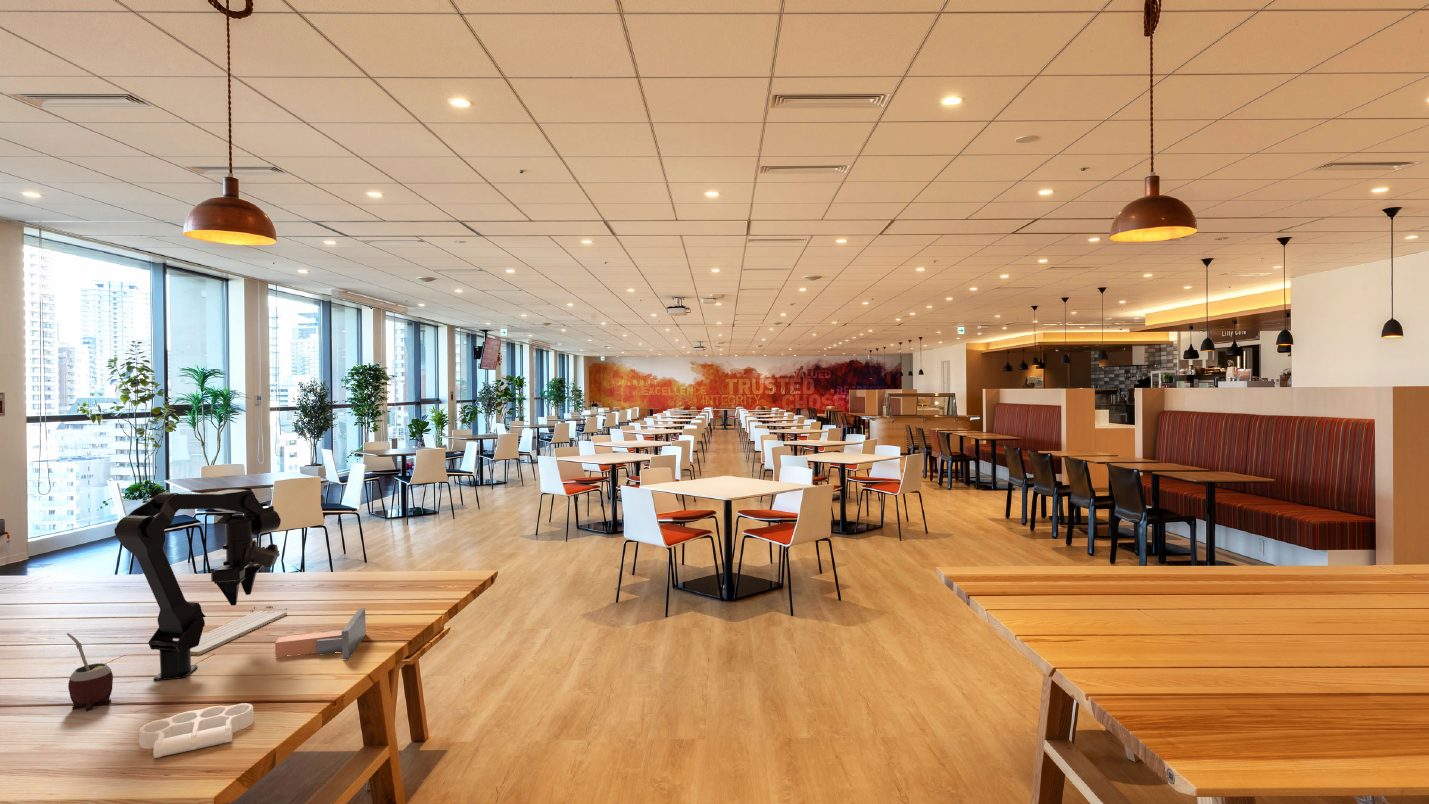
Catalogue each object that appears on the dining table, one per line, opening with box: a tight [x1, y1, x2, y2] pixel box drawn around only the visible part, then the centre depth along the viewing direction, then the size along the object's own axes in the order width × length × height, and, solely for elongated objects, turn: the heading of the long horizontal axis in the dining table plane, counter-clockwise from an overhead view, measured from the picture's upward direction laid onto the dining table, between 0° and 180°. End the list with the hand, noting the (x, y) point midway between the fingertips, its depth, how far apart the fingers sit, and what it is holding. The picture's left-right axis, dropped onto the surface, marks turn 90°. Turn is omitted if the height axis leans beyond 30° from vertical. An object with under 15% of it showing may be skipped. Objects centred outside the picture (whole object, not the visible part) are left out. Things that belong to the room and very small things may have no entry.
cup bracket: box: [316, 607, 367, 660], centre depth 185 cm, size 18×8×7 cm, turn 14°
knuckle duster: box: [138, 702, 255, 759], centre depth 140 cm, size 3×18×15 cm
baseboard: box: [190, 605, 288, 656], centre depth 197 cm, size 31×3×12 cm
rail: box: [274, 629, 342, 658], centre depth 183 cm, size 16×4×4 cm, turn 110°
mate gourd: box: [66, 632, 114, 712], centre depth 153 cm, size 8×8×15 cm
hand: (241, 599), depth 186 cm, fingers open, 9 cm apart
